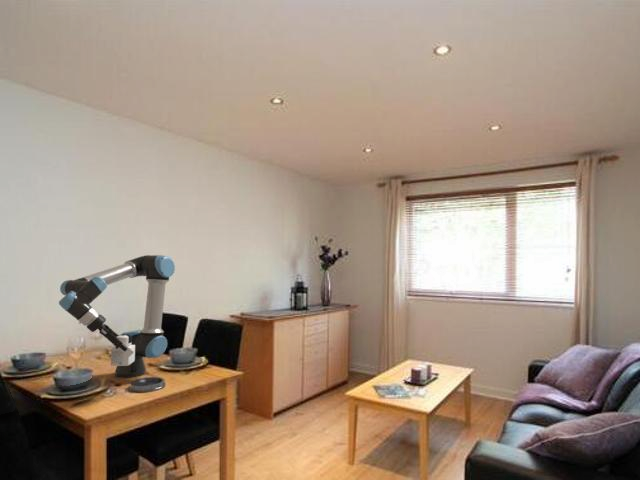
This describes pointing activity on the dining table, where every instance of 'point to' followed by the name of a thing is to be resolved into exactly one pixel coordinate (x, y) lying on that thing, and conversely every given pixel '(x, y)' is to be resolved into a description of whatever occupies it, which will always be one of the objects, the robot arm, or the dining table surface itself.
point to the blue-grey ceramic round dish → (147, 384)
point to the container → (119, 356)
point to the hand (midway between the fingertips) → (130, 351)
